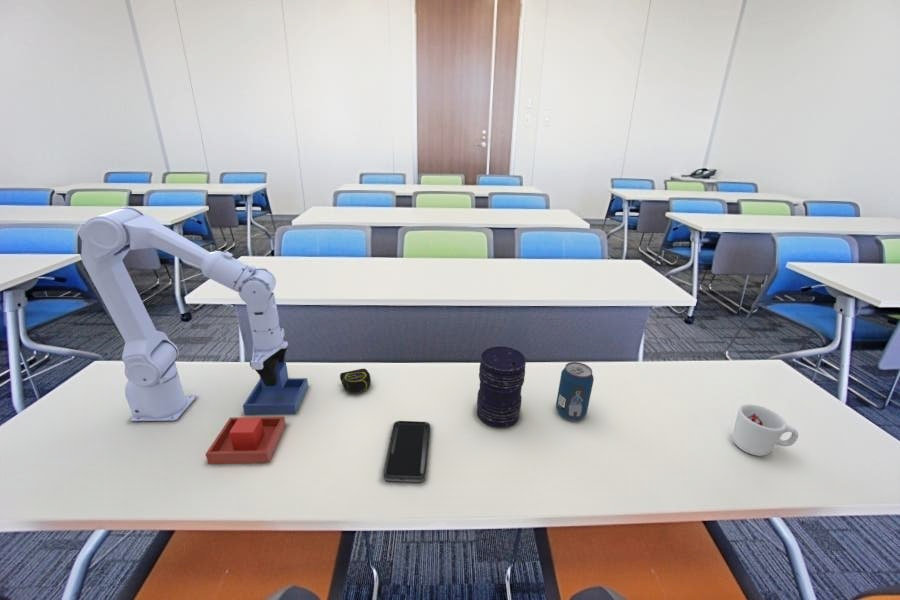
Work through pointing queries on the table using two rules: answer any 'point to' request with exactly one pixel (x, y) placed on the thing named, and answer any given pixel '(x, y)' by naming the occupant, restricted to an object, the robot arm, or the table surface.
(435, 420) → the table surface
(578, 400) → the soda can
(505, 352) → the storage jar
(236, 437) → the red block
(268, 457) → the red tray
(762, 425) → the cup
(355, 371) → the tape measure
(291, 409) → the blue tray
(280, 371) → the blue block
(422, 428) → the phone
